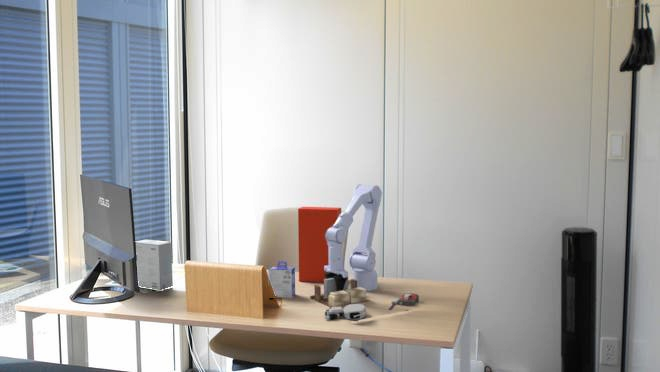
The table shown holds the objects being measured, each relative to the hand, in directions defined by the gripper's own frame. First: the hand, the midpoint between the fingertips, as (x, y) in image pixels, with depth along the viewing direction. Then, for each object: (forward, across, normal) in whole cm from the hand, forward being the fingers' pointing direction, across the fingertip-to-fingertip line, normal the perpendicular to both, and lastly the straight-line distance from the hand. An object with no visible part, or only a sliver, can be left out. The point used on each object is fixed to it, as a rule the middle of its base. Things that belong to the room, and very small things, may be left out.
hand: (336, 291), depth 280 cm
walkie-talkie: (+4, +21, +17) cm, 27 cm away
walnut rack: (+3, +3, 0) cm, 5 cm away
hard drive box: (+4, -59, -54) cm, 80 cm away
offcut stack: (+2, +8, 0) cm, 8 cm away
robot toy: (+4, +22, -10) cm, 24 cm away
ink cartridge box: (+4, -15, -16) cm, 22 cm away
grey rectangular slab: (+2, 0, 0) cm, 2 cm away
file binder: (+4, -31, +11) cm, 33 cm away
